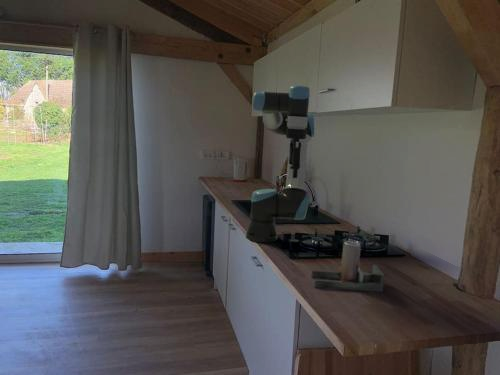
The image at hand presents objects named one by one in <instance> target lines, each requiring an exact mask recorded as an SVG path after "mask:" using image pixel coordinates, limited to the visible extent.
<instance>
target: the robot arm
mask: <svg viewBox="0 0 500 375" xmlns="http://www.w3.org/2000/svg"><path fill="white" fill-rule="evenodd" d="M310 97H311V96H310V88H309V87H308V86H304V85H292V86H290V87H289V92H276V91H275V92H274V91H255V92H254V93H253V97H252V108H253V110H254V111H256V112H257V111H259V112H261V114H262V123H263V125H264V126H265V128H266V129H267V130H269V131H270V132H272V133H274V134H275V135H276V134H277V135H280V136H285V137H286V139H287V140H288V141H289V146H288V147H289V148H288V157H287V167H286V168H287V169H286V180H285V187H283V188H282V189H281V193H280V192H278V190H277V189H275V188H274V189H273V188H262V189H257V190H255V191H253V192H252V194H251V200H250V202H251V205H250V220H249V224H248V227H247V229H246V232H245V238H246V239H247V240H249V241H251V242H255V243H264V244H266V243H274V242H276V241H277V240H278V230H277V226H276V219H283V220H294V221H296V220H297V221H299V220H300V221H302V220H305V219H306V216H307V211H308V208H309V202H310V195H308V190H306V189H305V181H306V180H305V178H306V168H307V167H306V166H307V164H306V163H307V152H308V151H307V150H308V143H309V142H310V141H311V140H312V138H314V137H315V119H314V118H315V117H314V115H313V114H312V113H310V112H309V103H310Z"/></svg>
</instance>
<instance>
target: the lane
mask: <svg viewBox="0 0 500 375" xmlns="http://www.w3.org/2000/svg"><path fill="white" fill-rule="evenodd" d="M340 272H341V271H336V270H335V271H334V270H320V269H319V270H317V269H311V271H310V277H311V279H312V278H313V279H314V283H313V284H314V285H313V287H314V288H316V289H333V290H345V291H346V290H348V291H349V290H350V291H362V292H375V293H376V292H379V293H383V291H384V283H385V276H386V275H385V274H384V273H383V272H382V270H381V269H380V268H379V266H378V265H377V264H372V270H371V273H370V272H369V273H367V274H368V275H369V277H368V283H365V282H349V281H340Z"/></svg>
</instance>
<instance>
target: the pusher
mask: <svg viewBox="0 0 500 375" xmlns="http://www.w3.org/2000/svg"><path fill="white" fill-rule="evenodd" d="M368 277H369V275H368V274H367V272H365V271H362V270H361V268H359V269H358V278H357V282H365V283H369V281H368Z"/></svg>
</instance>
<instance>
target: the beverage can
mask: <svg viewBox="0 0 500 375" xmlns="http://www.w3.org/2000/svg"><path fill="white" fill-rule="evenodd" d="M361 249H362V247H361V243H360V242H359V241H354V240H345V241H344V242H343V244H342V254H341V264H340V271H339V272H340V279H339V281H349V282H357V278H358V269H360V259H361Z"/></svg>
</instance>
